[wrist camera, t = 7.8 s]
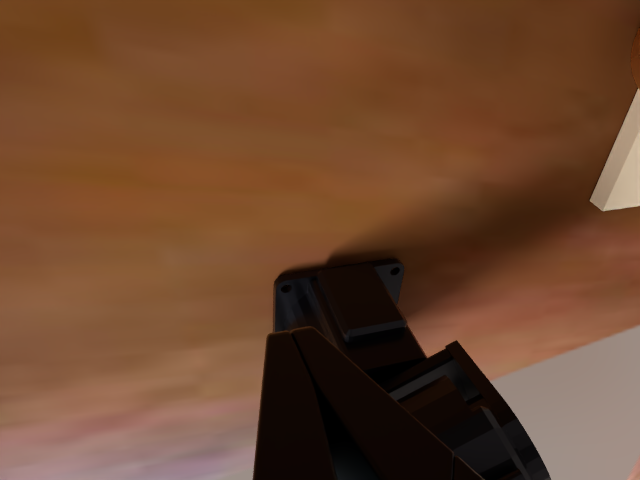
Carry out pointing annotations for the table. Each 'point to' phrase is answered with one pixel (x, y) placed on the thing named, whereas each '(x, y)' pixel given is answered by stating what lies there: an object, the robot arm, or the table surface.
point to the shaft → (636, 59)
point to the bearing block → (622, 166)
